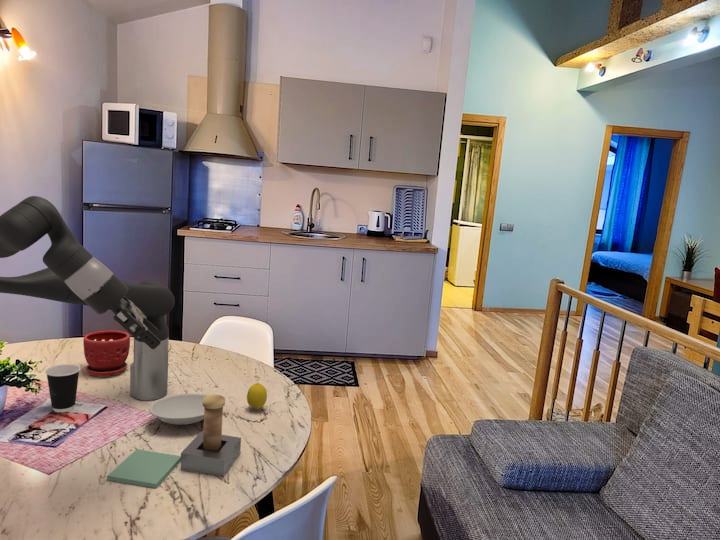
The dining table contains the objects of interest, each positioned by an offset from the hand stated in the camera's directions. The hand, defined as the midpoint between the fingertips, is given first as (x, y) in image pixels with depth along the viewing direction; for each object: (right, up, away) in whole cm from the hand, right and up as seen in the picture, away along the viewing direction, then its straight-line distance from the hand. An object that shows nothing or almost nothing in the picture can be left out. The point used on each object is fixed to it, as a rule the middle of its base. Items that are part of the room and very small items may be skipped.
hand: (156, 340), depth 106 cm
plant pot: (-37, -18, +54) cm, 68 cm away
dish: (-3, -26, +26) cm, 37 cm away
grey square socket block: (+9, -29, +10) cm, 32 cm away
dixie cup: (-36, -22, +28) cm, 51 cm away
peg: (+9, -29, +10) cm, 32 cm away
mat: (-4, -29, +4) cm, 30 cm away
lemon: (+13, -25, +37) cm, 47 cm away
